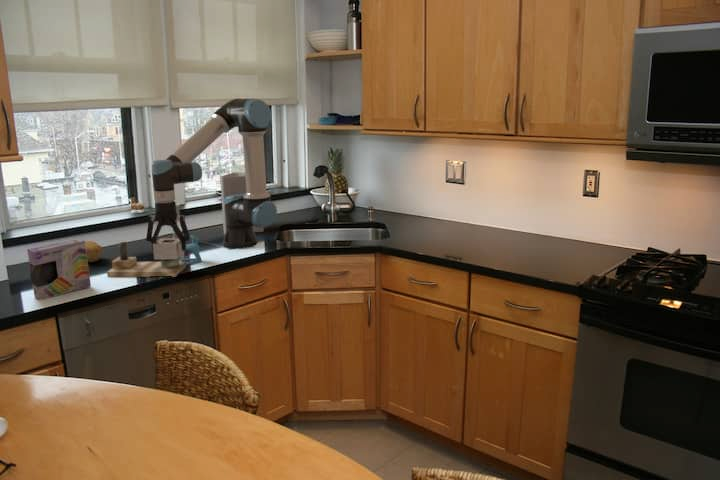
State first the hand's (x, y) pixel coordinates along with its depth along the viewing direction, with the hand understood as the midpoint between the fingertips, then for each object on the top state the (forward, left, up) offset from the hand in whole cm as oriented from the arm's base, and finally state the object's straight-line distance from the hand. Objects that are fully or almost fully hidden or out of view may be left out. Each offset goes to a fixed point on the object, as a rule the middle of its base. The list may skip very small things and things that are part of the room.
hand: (169, 258), depth 242 cm
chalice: (+13, -45, -5) cm, 47 cm away
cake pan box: (+30, +26, -5) cm, 40 cm away
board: (+9, 0, -5) cm, 10 cm away
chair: (-4, -13, -5) cm, 15 cm away
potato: (+38, -14, -5) cm, 41 cm away
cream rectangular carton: (-12, -72, -5) cm, 73 cm away
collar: (0, 0, +1) cm, 1 cm away
